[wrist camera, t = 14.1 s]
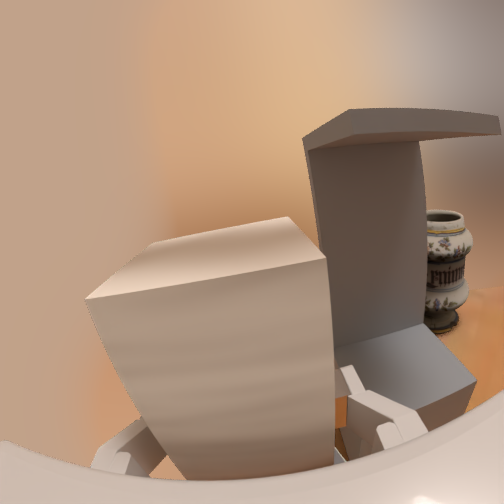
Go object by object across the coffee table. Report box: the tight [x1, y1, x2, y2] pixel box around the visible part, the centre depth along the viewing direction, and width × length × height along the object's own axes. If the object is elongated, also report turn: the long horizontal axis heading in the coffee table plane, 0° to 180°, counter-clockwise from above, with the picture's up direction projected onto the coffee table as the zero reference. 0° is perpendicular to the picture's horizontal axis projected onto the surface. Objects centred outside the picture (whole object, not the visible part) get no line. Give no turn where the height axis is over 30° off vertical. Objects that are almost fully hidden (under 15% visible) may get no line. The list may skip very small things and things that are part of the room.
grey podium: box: [302, 108, 501, 461], centre depth 21 cm, size 12×11×30 cm
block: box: [85, 217, 335, 481], centre depth 9 cm, size 5×5×14 cm
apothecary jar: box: [423, 210, 473, 334], centre depth 38 cm, size 12×12×18 cm
